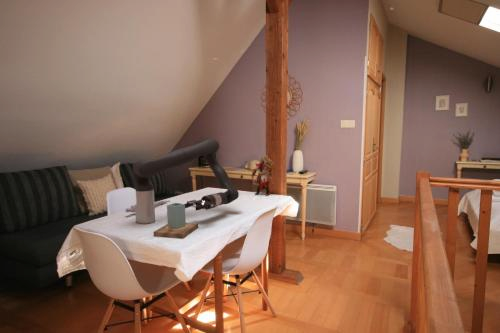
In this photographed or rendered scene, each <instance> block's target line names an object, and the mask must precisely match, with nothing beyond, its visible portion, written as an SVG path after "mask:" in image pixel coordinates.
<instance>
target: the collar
mask: <svg viewBox="0 0 500 333" xmlns="http://www.w3.org/2000/svg"><path fill="white" fill-rule="evenodd" d="M185 204H186V203H181V202H173V203H170V204H167V205H166V214H167V215H166V217H167V219H166V220H167V224H168V228H172V229H176V230H177V229H179V228H182V227H185V226H186V223H187V222H186V208H185Z"/></svg>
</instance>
